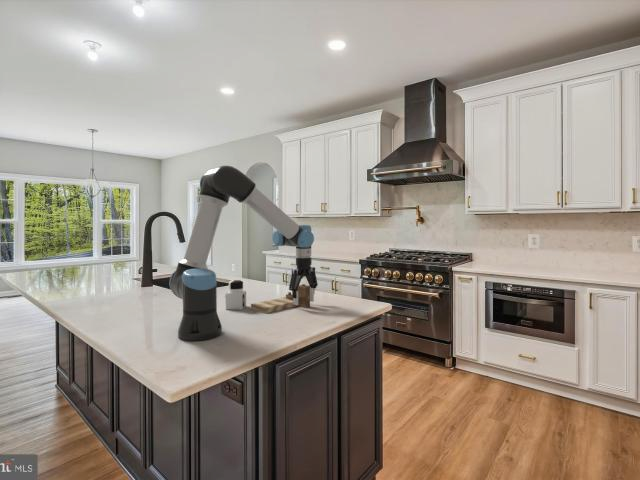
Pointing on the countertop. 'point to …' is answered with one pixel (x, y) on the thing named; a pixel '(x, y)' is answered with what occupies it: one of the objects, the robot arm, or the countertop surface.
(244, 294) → the container
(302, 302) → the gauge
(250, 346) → the countertop surface
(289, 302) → the board
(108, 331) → the countertop surface
